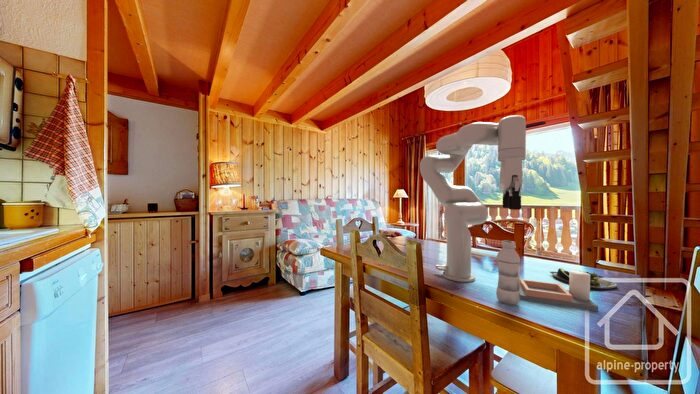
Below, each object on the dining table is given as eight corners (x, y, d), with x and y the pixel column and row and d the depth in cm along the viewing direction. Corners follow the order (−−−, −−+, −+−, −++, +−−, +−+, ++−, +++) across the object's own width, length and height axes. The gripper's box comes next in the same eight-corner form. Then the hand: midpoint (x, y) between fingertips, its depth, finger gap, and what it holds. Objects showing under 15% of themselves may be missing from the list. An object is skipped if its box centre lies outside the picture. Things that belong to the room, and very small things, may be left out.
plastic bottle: (511, 309, 76) (512, 244, 75) (491, 300, 82) (492, 240, 82) (525, 305, 78) (526, 242, 78) (504, 297, 85) (505, 239, 84)
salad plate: (581, 274, 110) (581, 263, 110) (632, 289, 92) (632, 277, 92) (543, 276, 108) (543, 265, 107) (587, 292, 90) (588, 280, 90)
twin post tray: (505, 297, 85) (505, 269, 85) (500, 285, 96) (500, 260, 96) (598, 311, 75) (598, 280, 75) (581, 296, 86) (581, 269, 86)
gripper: (494, 160, 89) (493, 207, 89) (502, 152, 73) (502, 209, 74) (518, 158, 86) (518, 207, 87) (533, 150, 70) (533, 210, 71)
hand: (511, 208), depth 80 cm, fingers open, 9 cm apart
